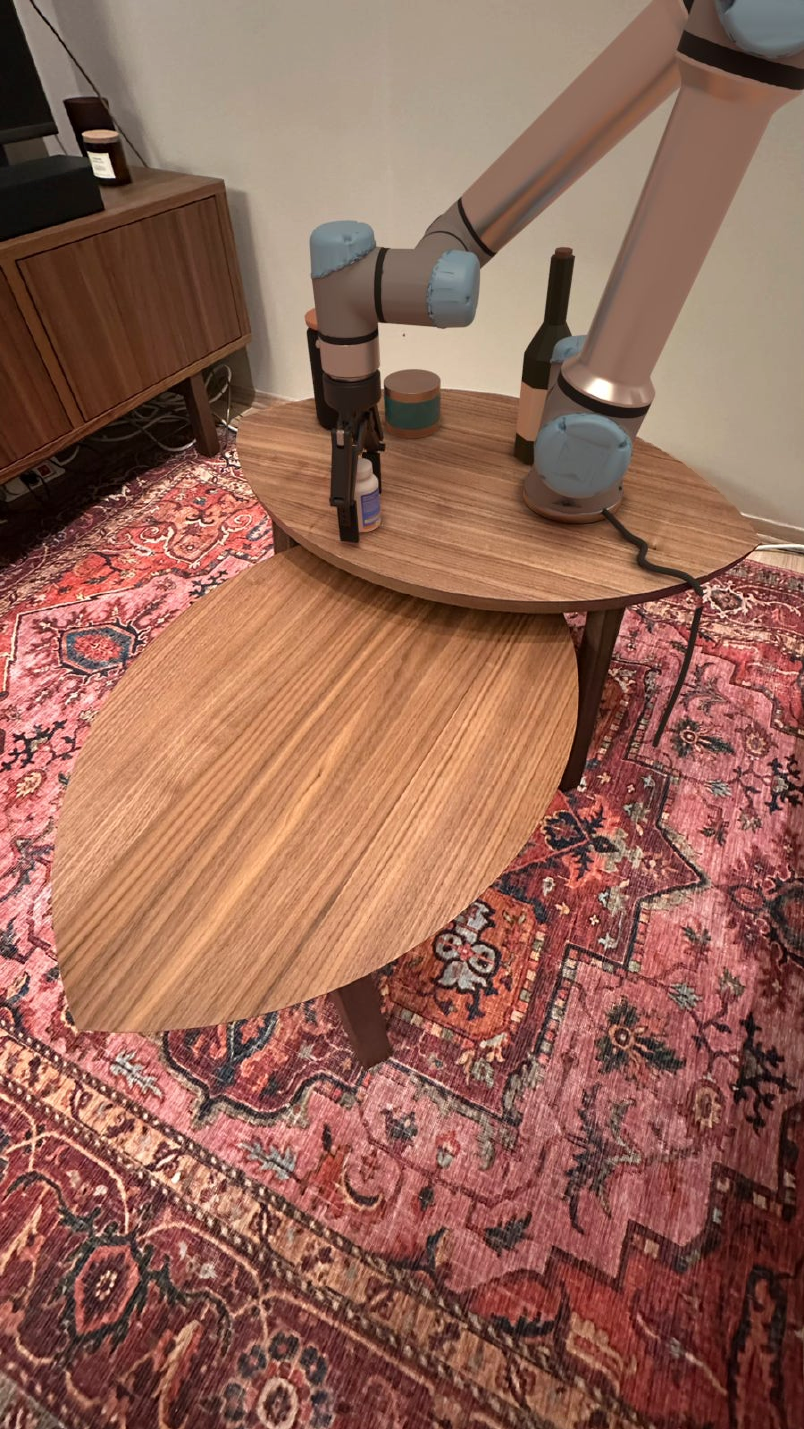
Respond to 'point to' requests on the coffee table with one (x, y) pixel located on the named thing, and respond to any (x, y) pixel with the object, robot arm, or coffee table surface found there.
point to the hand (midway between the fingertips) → (362, 516)
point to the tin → (412, 403)
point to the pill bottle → (367, 497)
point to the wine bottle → (543, 354)
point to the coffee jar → (318, 375)
